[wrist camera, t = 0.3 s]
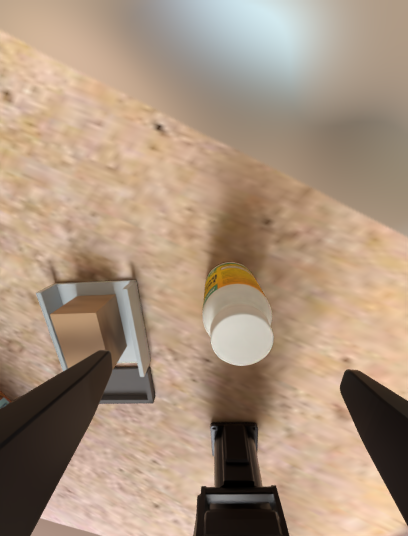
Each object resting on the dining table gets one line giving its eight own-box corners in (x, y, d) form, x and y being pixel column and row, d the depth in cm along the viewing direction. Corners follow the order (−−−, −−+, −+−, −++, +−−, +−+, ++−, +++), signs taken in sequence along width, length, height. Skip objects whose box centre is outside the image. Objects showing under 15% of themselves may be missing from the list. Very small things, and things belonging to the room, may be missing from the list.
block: (127, 346, 24) (111, 372, 21) (91, 347, 25) (69, 373, 21) (115, 294, 22) (95, 312, 19) (77, 295, 23) (49, 314, 19)
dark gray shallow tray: (155, 396, 27) (153, 403, 26) (91, 396, 28) (87, 403, 27) (149, 366, 26) (147, 373, 25) (82, 368, 26) (77, 374, 25)
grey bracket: (150, 360, 25) (144, 376, 23) (78, 362, 26) (65, 378, 24) (136, 279, 22) (127, 289, 20) (54, 283, 23) (35, 292, 20)
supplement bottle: (248, 309, 23) (272, 381, 13) (201, 302, 23) (194, 369, 13) (259, 264, 21) (296, 311, 12) (209, 256, 21) (206, 297, 12)
